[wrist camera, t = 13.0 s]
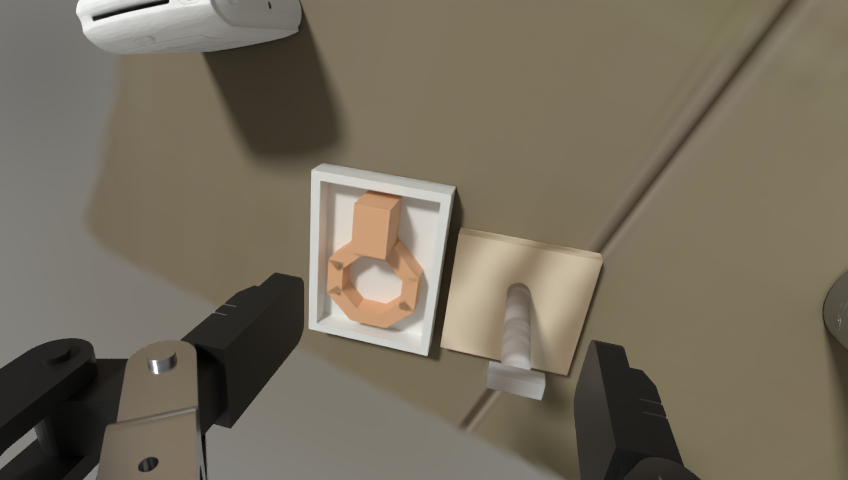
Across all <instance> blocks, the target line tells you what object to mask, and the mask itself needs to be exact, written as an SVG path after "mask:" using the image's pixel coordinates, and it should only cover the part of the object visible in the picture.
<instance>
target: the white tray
mask: <svg viewBox="0 0 848 480" xmlns="http://www.w3.org/2000/svg"><path fill="white" fill-rule="evenodd" d="M455 189H456V186H451V185H446V184H440V183H434V182H429V181H423V180H417V179H412V178H406V177H401V176H395V175H389V174H384V173H378V172H372V171H367V170H361V169H355V168H350V167H344V166H338V165H333V164H327V163H322V164H321V165H319V166H317V167H316V168H314V169H312V173H311V228H310V284H309V329H312V330H317V331H321V332H325V333H330V334H334V335H338V336H343V337H347V338H351V339H356V340H360V341H364V342H369V343H373V344H377V345H382V346H386V347H390V348H395V349H399V350H403V351H408V352H412V353H416V354H421V355H425V356H427V355H428V352H429V349H430V346H431V343H432V339H433V332H434V326H435V319H436V313H437V306H438V300H439V293H440V287H441V280H442V274H443V267H444V261H445V254H446V248H447V241H448V235H449V228H450V222H451V215H452V209H453V202H454V196H455ZM368 190H374V191H380V192H385V193H391V194H396V195H402V196H403V197H402V205H401V214H400V223H399V231H398V239H400V240H401V241H402V243H403V244H404V245H405V246H406V248H407V249H408V250H409V252H410V253H411V254H412V255H413V257H414V258H415V259H416V261H417V262H418V263H419V264H420V266H421V267H422V268H423V273H422V280H421V287H420V294H419V301H418V304H417V306H416V308H415V311H414V312H413V313H411V314H410V315H408V316H406V317H404V318H403V319H401V320H399V321H397V322H396V323H394V324H392V325H390V326H389V327H387V328H382V327H378V326H374V325H369V324H365V323H361V322H356V321H352V320H350V319H349V318H348V317H347V316H346V314H345V313H344V312H343V311H342V310H341V308H340V307H339V306H338V305H337V304H336V303H335V301H334V300H333V299H332V298H331V297H330V295H329V294H328V293H327V281H328V260H329V258H330V257H331V256H332V255H333V254H334V253H335V252H336V251H337V250H338V249H340V248H341V247H343V246H344V245H346V244H347V243H348V242H350V241H351V240H352V227H353V213H354V203H355V202H356V201H357V200H358V199H359V198H361V197H362V196H363V195H364V194H365V193H366V192H367V191H368ZM349 281H350V282H351V283H352V285H353V286H354V287H355V288H356V289H357V291H358V292H359V293H360V294H361V295H362V297H363V298H364V299H369V300H373V301H378V302H382V303H388V302H390V301H392V300H394V299H395V298H397V297H399V296H400V295H401V289H402V280H401V279H400V278H399V276H398V275H397V274H396V273H395V271H394V270H393V269H392V268H391V266H390V265H389V264H388V263H387V261H382V260H378V259H373V258H368V257H363V256H361V257H359V258H358V259H356V260H355V261H353V262H352V263H350V272H349Z"/></svg>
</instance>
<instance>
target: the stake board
mask: <svg viewBox="0 0 848 480" xmlns="http://www.w3.org/2000/svg"><path fill="white" fill-rule="evenodd" d="M602 263H603V259H602V256H601V254H600V253H595V252H590V251H585V250H580V249H574V248H569V247H564V246H558V245H553V244H548V243H543V242H537V241H532V240H527V239H521V238H516V237H511V236H506V235H500V234H495V233H490V232H484V231H479V230H474V229H469V228H463V227H461V229H460V232H459V235H458V242H457V248H456V254H455V260H454V266H453V272H452V278H451V284H450V290H449V296H448V303H447V309H446V315H445V321H444V327H443V333H442V339H441V345H440V347H443V348H447V349H451V350H456V351H460V352H465V353H469V354H473V355H478V356H482V357H487V358H491V359H495V360H500V361H501V363H497V362H492V361H490V363H489V368H488V372H487V378H486V386H485V387H487V388H491V389H495V390H499V391H504V392H508V393H512V394H516V395H521V396H525V397H529V398H533V399H538V400H541V399H542V396H543V392H544V389H545V373H541V372H536V371H532V370H531V368H535V369H540V370H544V371H548V372H553V373H557V374H562V375H566V376H567V374H568V371H569V368H570V365H571V361H572V358H573V355H574V352H575V349H576V346H577V342H578V339H579V336H580V333H581V330H582V326H583V323H584V320H585V317H586V314H587V311H588V307H589V304H590V301H591V298H592V295H593V291H594V288H595V285H596V282H597V279H598V276H599V272H600V269H601V266H602Z"/></svg>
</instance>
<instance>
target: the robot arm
mask: <svg viewBox="0 0 848 480" xmlns="http://www.w3.org/2000/svg"><path fill="white" fill-rule="evenodd" d="M823 314H824V320H825V324H826V326H827V328H828V330H829V332H830V333H831V334H832V335H833V336H834V337H835V338H836V339H837V340H838V341H839V342H840V343H841V344H842V345H843V346H844V347H845V348H846V349H847V350H848V271H847V272H846V273H845V274H844V275H843V276H842V277H841V278H840V279H839V280H837V281H836V283H835V284H834V286H833V287H832V288H831V290H830V291H829V293H828V296H827V298H826V301H825V304H824V312H823ZM303 328H304V282H303V280H302V278H300V277H295V276H290V275H285V274H281V273H274V274H273V275H271V276H270V277H269V278H268V279H267V280H266V281H265V282H263V283H262V284H261V285H260V286H252V287H250V288H247V289H245V290H243V291H240V292H238V293H236V294H235V295H234V296H233V297H231V298H230V299H229V300H228V301H227V302H225V305H222V306H221V307H219V308H218V309H217V310H216V311H215V313H212V314H211V315H210V316H209V317H207V318H206V319H205V320H204V321H203V322H201V323H200V324H199V325H198V326H197V327H195V328H194V329H193V330H192V331H191V332H189V333H188V334H187V335H186V336H185V337H183V338H182V339H181V340H166V341H159V342H156V343H152V344H149V345H147V346H145V347H143V348H141V349H139V350H138V351H136V352H135V353H134V354H132V356H131V357H130V358H129V359H96V358H95V353H94V349H93V346H92V344H91V343H89V342H88V341H86V340H82V339H77V338H68V339H59V340H54V341H50V342H47V343H44V344H42V345H39V346H37V347H35V348H32V349H30V350H29V351H27V352H25V353H24V354H22V355H21V356H19V357H18V358H16V359H15V360H13V361H12V362H10V363H9V364H7V365H5V366H4V367H2V368H1V369H0V456H1V455H2V454H3V453H4V451H5V450H7V448H9V447H10V446H11V445H12V444H14V443H15V442H16V441H17V440H18V439H20V438H21V437H22V436H23V435H25V434H26V433H27V432H28V431H30V430H31V429H32V428H33V427H34V428H35V432H36V435H37V439H36V440H35V441H33V442H32V443H31V444H30V445H29V446H28V447H27V448H25V449H24V450H23V451H22V452H21V453H19V454H18V455H17V456H16V457H15V458H13V459H12V460H11V461H10V462H9V463H8V464H7V465H5V466H4V467H3V468H2V469H1V470H0V480H83V479H84V478H85V477H86V475H88V473H90V472H91V470H92V469H93V468H94V467H95V466H96V465H97V464H98V463H99V466H98V471H97V476H96V480H209V479H208V457H207V439H206V432H207V431H208V430H209V428H210V427H211V426H212V425H213V424H216V425H220V426H223V427H227V428H232V426H233V425H234V424H235V423H236V421H237V420H238V419H239V417H240V416H241V415H242V414H243V412H244V411H245V410H246V409H247V407H248V406H249V405H250V403H251V402H252V401H253V400H254V399H255V397H256V396H257V395H258V394H259V392H260V391H261V390H262V388H263V387H264V386H265V385H266V383H267V382H268V381H269V379H270V378H271V377H272V376H273V375H274V373H275V372H276V371H277V370H278V368H279V367H280V366H281V365H282V363H283V362H284V361H285V360H286V358H287V357H288V356H289V354H290V353H291V352H292V351H293V349H294V348H295V347H296V346H297V344H298V343H299V341H300V338H301V336H302V332H303ZM574 418H575V428H576V437H577V447H578V456H579V466H580V475H581V480H701V479H700V478H699V477H698V476H696V475H695V474H694V473H693V472H692V471H690V470H689V469H687V468H686V467H684V465H683V462H682V459H681V456H680V453H679V450H678V448H677V445H676V442H675V439H674V436H673V433H672V431H671V428H670V425H669V422H668V419H666V414H665V411H664V408H663V405H661V399H660V397H659V394H658V391H657V388H656V386H655V385H654V383H653V382H652V381H651V380H650V379H649V378H648V376H647V375H646V374H645V373H644V372H643V371H642V370H638V369H634V368H630V367H629V363H628V360H627V357H626V353H625V350H624V347H623V346H620V345H615V344H610V343H606V342H601V341H596V340H592V341H591V342H590V344H589V347H588V350H587V354H586V357H585V360H584V363H583V367H582V370H581V373H580V376H579V380H578V383H577V386H576V390H575V396H574Z"/></svg>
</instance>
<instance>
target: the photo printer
mask: <svg viewBox="0 0 848 480" xmlns="http://www.w3.org/2000/svg"><path fill="white" fill-rule="evenodd" d="M76 14H77V15H78V17H79V19H80V20H81V23H82V26H83V32H84V34H85V35H86V37H87V38H88V39H89V40H90V41H91V42H92V43H94V44H95V45H96V46H98V47H99V48H101V49H103V50H105V51H108V52H111V53H117V54H147V53H176V52H212V51H219V50H225V49H231V48H237V47H243V46H248V45H253V44H258V43H263V42H267V41H272V40H276V39H280V38H284V37H287V36H290V35H292V34H294V33H296V32H298V31H299V30H298V26H299V25H300V22H301V15H302V13H301V6H300V2H299V0H79V2H78V4H77V9H76Z"/></svg>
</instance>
